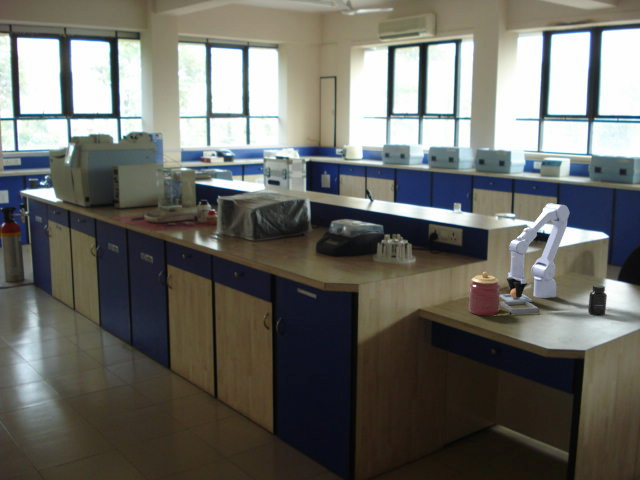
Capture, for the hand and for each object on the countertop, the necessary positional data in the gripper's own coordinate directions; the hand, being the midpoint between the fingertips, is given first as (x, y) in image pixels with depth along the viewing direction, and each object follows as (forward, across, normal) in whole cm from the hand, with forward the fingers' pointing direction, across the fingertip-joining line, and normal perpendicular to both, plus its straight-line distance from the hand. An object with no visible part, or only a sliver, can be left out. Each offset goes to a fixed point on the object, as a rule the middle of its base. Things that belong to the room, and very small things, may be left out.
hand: (515, 295), depth 307 cm
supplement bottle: (+3, +25, +25) cm, 35 cm away
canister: (+3, +14, -21) cm, 25 cm away
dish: (+3, 0, 0) cm, 3 cm away
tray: (+3, +14, -5) cm, 15 cm away
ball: (+2, 0, 0) cm, 2 cm away
